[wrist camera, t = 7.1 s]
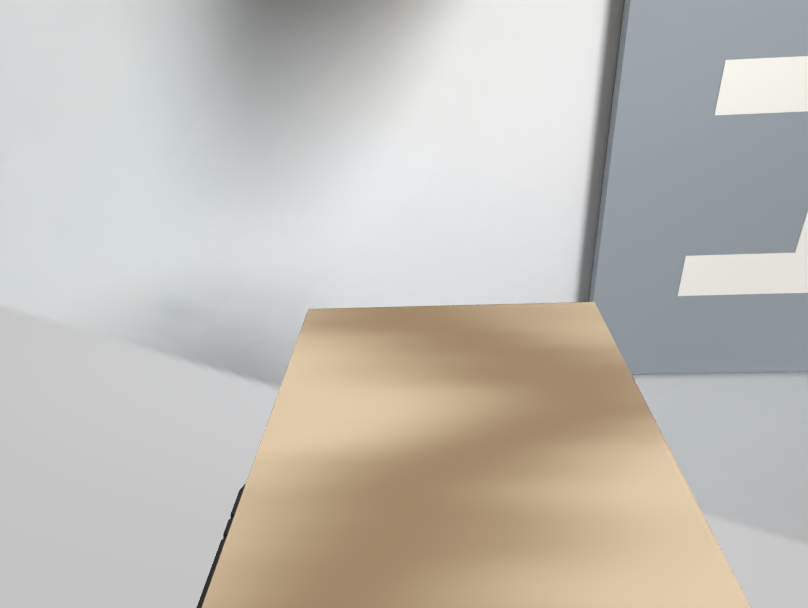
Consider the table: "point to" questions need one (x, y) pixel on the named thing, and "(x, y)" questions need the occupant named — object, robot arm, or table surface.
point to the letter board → (707, 188)
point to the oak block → (466, 472)
